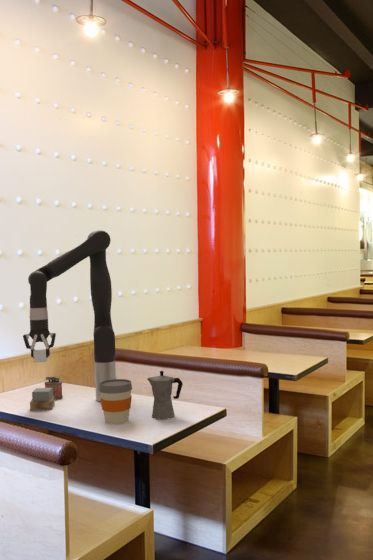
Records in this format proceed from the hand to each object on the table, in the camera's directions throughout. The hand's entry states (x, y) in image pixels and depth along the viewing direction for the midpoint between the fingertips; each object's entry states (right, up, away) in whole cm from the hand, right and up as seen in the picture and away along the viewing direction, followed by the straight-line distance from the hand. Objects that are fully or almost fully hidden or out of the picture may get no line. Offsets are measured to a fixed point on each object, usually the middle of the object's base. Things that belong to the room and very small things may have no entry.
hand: (40, 357), depth 239 cm
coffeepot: (+54, -21, -19) cm, 61 cm away
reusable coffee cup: (+36, -21, -23) cm, 48 cm away
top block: (0, -1, 0) cm, 1 cm away
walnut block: (+1, -22, +1) cm, 22 cm away
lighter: (+2, -21, +16) cm, 27 cm away
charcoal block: (+1, -18, +1) cm, 18 cm away
